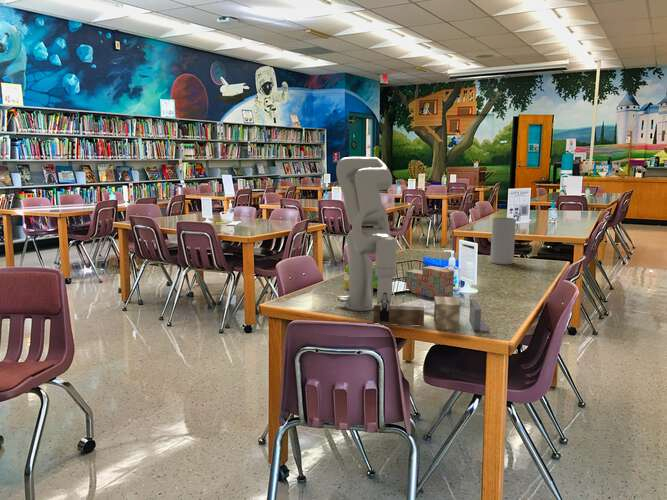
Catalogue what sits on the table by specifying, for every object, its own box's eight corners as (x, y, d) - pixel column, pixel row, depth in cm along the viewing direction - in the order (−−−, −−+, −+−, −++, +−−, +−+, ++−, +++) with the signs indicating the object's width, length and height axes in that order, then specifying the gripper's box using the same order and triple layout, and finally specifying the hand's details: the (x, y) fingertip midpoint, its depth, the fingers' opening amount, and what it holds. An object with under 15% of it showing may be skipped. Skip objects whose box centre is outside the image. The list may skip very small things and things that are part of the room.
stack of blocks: (405, 291, 260) (406, 264, 258) (414, 289, 264) (415, 262, 262) (444, 300, 245) (445, 271, 243) (453, 297, 249) (454, 269, 247)
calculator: (420, 302, 242) (420, 298, 242) (459, 312, 227) (460, 307, 227) (398, 308, 233) (398, 303, 233) (438, 318, 219) (438, 314, 218)
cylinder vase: (514, 261, 333) (516, 218, 329) (512, 265, 321) (515, 220, 317) (491, 260, 337) (493, 217, 333) (489, 263, 326) (491, 219, 322)
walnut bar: (373, 324, 210) (373, 308, 209) (373, 321, 214) (374, 305, 213) (423, 326, 208) (424, 310, 207) (423, 322, 212) (423, 306, 211)
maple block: (435, 329, 204) (436, 304, 203) (433, 320, 215) (434, 296, 214) (458, 329, 203) (460, 304, 202) (455, 321, 214) (456, 297, 213)
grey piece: (474, 331, 201) (475, 309, 200) (469, 320, 215) (470, 299, 214) (488, 332, 201) (490, 309, 200) (483, 320, 215) (484, 299, 213)
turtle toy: (362, 281, 280) (363, 257, 278) (394, 290, 261) (394, 265, 259) (333, 285, 270) (333, 260, 268) (363, 295, 251) (364, 269, 249)
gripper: (376, 266, 217) (375, 310, 220) (374, 276, 200) (373, 324, 203) (396, 267, 216) (395, 311, 219) (396, 276, 200) (394, 324, 202)
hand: (384, 317), depth 211 cm, fingers open, 9 cm apart
